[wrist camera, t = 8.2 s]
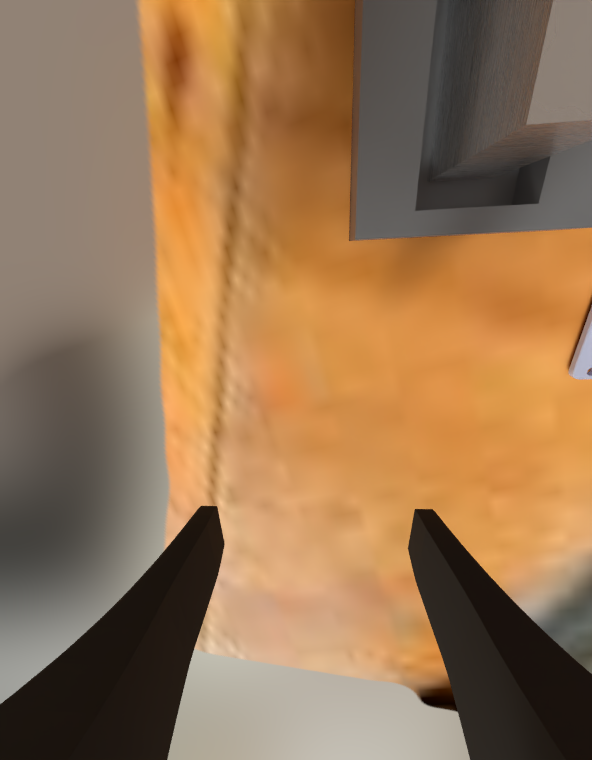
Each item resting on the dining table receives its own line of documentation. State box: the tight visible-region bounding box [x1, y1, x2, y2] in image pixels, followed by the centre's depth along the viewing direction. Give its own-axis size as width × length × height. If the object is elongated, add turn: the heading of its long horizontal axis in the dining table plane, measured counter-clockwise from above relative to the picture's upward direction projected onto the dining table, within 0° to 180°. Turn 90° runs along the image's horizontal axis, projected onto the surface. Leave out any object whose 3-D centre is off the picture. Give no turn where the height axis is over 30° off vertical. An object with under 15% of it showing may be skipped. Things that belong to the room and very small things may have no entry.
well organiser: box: [349, 0, 592, 241], centre depth 12 cm, size 10×10×2 cm
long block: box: [428, 0, 592, 182], centre depth 9 cm, size 3×6×7 cm, turn 3°
